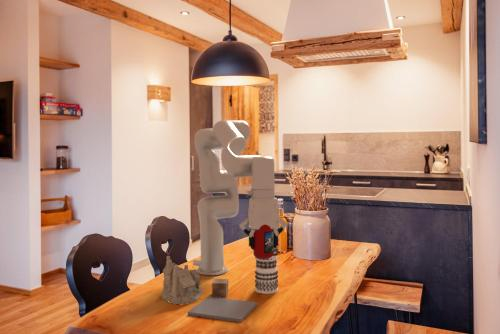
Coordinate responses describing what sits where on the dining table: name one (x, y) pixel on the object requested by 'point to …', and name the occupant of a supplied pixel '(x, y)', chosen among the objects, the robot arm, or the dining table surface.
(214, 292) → the walnut block
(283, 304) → the dining table surface
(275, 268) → the decorative candle
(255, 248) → the beverage can
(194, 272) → the ceramic cottage
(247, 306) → the slate board
